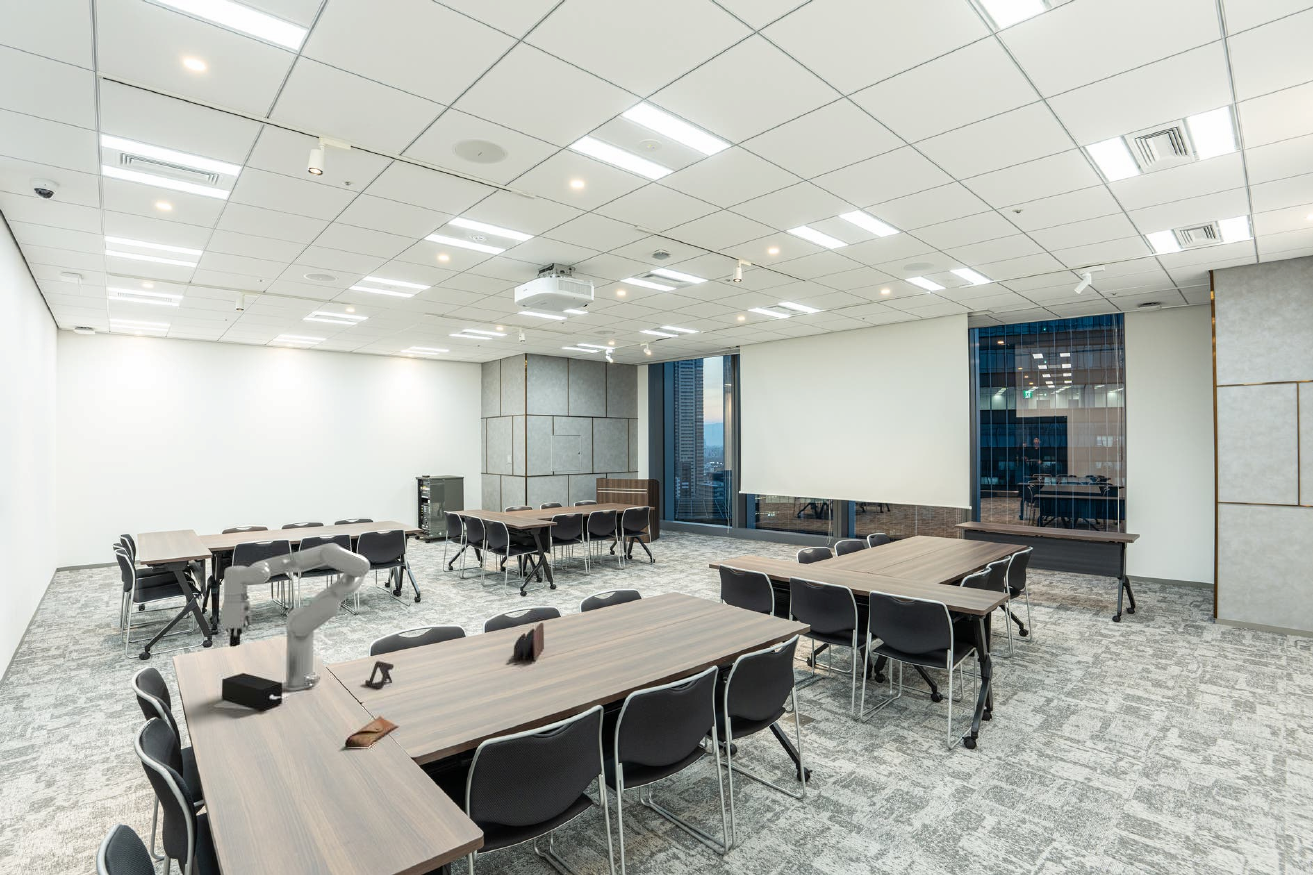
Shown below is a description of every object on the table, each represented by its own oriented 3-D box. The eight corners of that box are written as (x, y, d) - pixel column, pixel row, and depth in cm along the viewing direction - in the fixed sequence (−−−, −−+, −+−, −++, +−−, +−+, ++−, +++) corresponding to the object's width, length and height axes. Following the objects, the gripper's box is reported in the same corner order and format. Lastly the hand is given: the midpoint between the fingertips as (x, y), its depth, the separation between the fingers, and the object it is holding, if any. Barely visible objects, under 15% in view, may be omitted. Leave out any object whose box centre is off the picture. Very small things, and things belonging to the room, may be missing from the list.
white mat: (290, 695, 241) (290, 694, 241) (262, 710, 227) (262, 708, 227) (244, 692, 243) (244, 691, 243) (214, 706, 230) (214, 705, 230)
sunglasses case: (368, 749, 196) (359, 730, 197) (351, 759, 197) (342, 740, 198) (400, 725, 214) (392, 708, 215) (384, 734, 215) (376, 717, 215)
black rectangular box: (242, 692, 242) (287, 705, 230) (221, 699, 235) (266, 713, 223) (243, 672, 243) (287, 684, 230) (221, 678, 236) (266, 691, 223)
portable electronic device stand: (364, 685, 251) (365, 665, 251) (381, 679, 258) (381, 659, 258) (379, 689, 247) (379, 668, 247) (395, 683, 254) (396, 662, 254)
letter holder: (544, 649, 298) (544, 620, 299) (534, 663, 278) (535, 631, 279) (523, 649, 299) (524, 620, 299) (513, 663, 279) (513, 631, 279)
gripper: (260, 596, 242) (259, 643, 242) (226, 595, 244) (226, 641, 244) (245, 601, 235) (244, 649, 234) (210, 599, 237) (209, 647, 237)
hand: (234, 645), depth 239 cm, fingers closed
